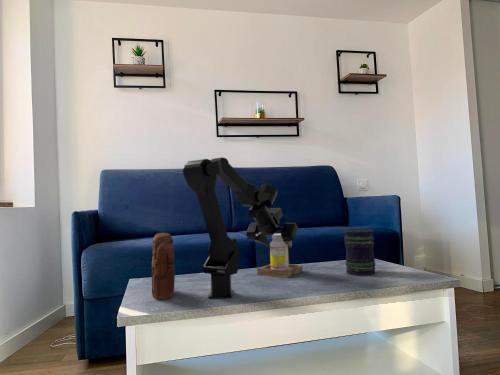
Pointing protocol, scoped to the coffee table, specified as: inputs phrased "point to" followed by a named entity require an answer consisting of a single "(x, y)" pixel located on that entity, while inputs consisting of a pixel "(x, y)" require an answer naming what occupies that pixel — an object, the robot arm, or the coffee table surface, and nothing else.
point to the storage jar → (360, 252)
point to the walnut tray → (279, 271)
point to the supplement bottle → (279, 253)
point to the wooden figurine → (163, 266)
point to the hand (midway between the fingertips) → (280, 245)
